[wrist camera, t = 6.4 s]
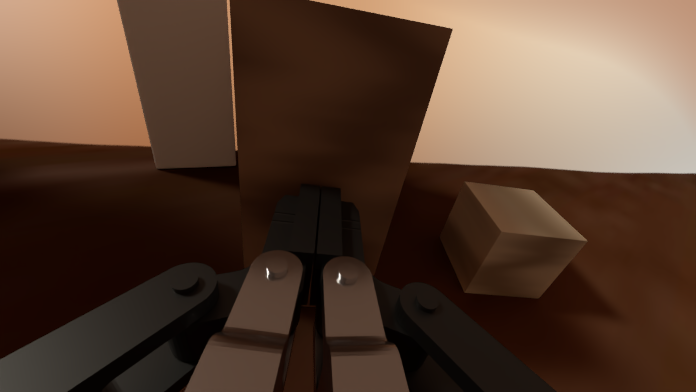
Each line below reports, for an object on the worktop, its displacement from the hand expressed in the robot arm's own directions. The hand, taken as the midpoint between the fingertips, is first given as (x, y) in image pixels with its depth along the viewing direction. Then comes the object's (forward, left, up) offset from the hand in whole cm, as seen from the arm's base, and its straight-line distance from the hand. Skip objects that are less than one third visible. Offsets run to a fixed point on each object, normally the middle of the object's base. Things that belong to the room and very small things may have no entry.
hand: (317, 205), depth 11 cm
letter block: (+12, +4, -7) cm, 14 cm away
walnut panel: (0, +8, -7) cm, 10 cm away
